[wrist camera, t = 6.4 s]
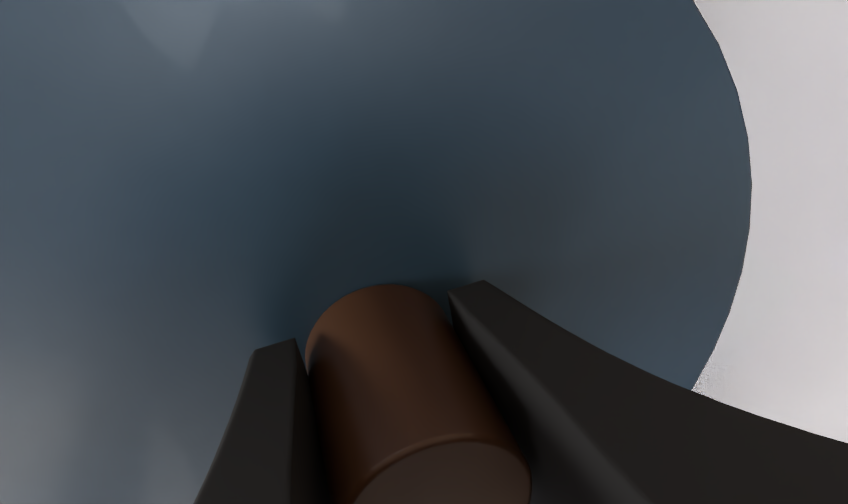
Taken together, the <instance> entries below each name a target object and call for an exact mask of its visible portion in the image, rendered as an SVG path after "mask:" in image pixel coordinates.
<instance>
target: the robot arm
mask: <svg viewBox="0 0 848 504" xmlns="http://www.w3.org/2000/svg"><path fill="white" fill-rule="evenodd" d="M447 294H448V300H449V305H450V311H451V316H452V322H453V327H454V330H455V332H456V334H457V336H458V338H459V339H460V341H461V343H462V345H463V346H464V348H465V350H466V352H467V354H468V355H469V357H470V359H471V361H472V363H473V364H474V366H475V368H476V370H477V372H478V373H479V375H480V377H481V379H482V381H483V382H484V384H485V386H486V388H487V390H488V391H489V393H490V395H491V397H492V399H493V400H494V402H495V404H496V406H497V407H498V409H499V411H500V413H501V415H502V416H503V418H504V420H505V422H506V424H507V425H508V427H509V429H510V431H511V433H512V434H513V436H514V438H515V440H516V442H517V443H518V445H519V447H520V449H521V451H522V452H523V454H524V456H525V458H526V460H527V462H528V464H529V466H530V469H531V474H532V496H531V500H530V503H529V504H848V443H844V442H841V441H837V440H834V439H830V438H827V437H823V436H820V435H817V434H813V433H810V432H807V431H804V430H801V429H798V428H795V427H791V426H788V425H785V424H782V423H779V422H776V421H773V420H770V419H767V418H764V417H761V416H758V415H754V414H752V413H749V412H746V411H743V410H740V409H738V408H735V407H732V406H729V405H726V404H724V403H721V402H718V401H716V400H713V399H711V398H708V397H706V396H704V395H701V394H699V393H696V392H694V391H691V390H689V389H686V388H684V387H681V386H679V385H676V384H674V383H671V382H669V381H667V380H664V379H662V378H660V377H658V376H655V375H653V374H651V373H649V372H646V371H644V370H642V369H640V368H638V367H636V366H634V365H632V364H630V363H628V362H626V361H624V360H622V359H620V358H618V357H616V356H614V355H611V354H609V353H607V352H605V351H604V350H602V349H600V348H598V347H596V346H594V345H592V344H591V343H589V342H587V341H585V340H583V339H582V338H580V337H578V336H576V335H575V334H573V333H571V332H569V331H567V330H566V329H564V328H562V327H560V326H559V325H557V324H555V323H554V322H552V321H550V320H548V319H547V318H545V317H543V316H542V315H540V314H539V313H537V312H535V311H534V310H532V309H530V308H529V307H527V306H526V305H524V304H522V303H521V302H519V301H518V300H516V299H514V298H513V297H511V296H510V295H508V294H506V293H505V292H503V291H502V290H500V289H498V288H497V287H495V286H494V285H492V284H490V283H489V282H487V281H485V280H481V281H477V282H474V283H471V284H468V285H464V286H461V287H458V288H454V289H451V290H448V291H447ZM193 504H331V500H330V495H329V489H328V484H327V478H326V473H325V467H324V462H323V456H322V451H321V445H320V440H319V434H318V427H317V420H316V415H315V409H314V404H313V399H312V393H311V388H310V382H309V377H308V374H307V371H306V368H305V365H304V362H303V359H302V356H301V354H300V351H299V348H298V345H297V342H296V339H295V338H291V339H288V340H285V341H282V342H278V343H275V344H272V345H268V346H265V347H262V348H259V349H255V350H254V352H253V353H252V355H251V356H250V358H249V361H248V365H247V369H246V372H245V375H244V378H243V382H242V385H241V388H240V391H239V394H238V397H237V400H236V402H235V405H234V408H233V411H232V414H231V416H230V419H229V422H228V424H227V427H226V429H225V432H224V434H223V437H222V439H221V442H220V444H219V447H218V449H217V452H216V454H215V457H214V459H213V462H212V464H211V466H210V469H209V471H208V473H207V475H206V478H205V480H204V482H203V484H202V486H201V488H200V490H199V492H198V495H197V497H196V499H195V501H194V503H193Z"/></svg>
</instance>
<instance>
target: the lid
mask: <svg viewBox="0 0 848 504" xmlns="http://www.w3.org/2000/svg"><path fill="white" fill-rule="evenodd" d="M751 191H752V180H751V168H750V156H749V144H748V136H747V131H746V127H745V123H744V118H743V114H742V110H741V105H740V101H739V96H738V92H737V89H736V87H735V84H734V82H733V79H732V76H731V74H730V71H729V69H728V66H727V64H726V61H725V59H724V56H723V54H722V51H721V49H720V46H719V44H718V42H717V40H716V39H715V37H714V35H713V34H712V32H711V30H710V29H709V27H708V25H707V23H706V22H705V20H704V18H703V17H702V15H701V13H700V12H699V10H698V8H697V7H696V5H695V3H694V1H693V0H0V504H193V503H194V501H195V499H196V497H197V495H198V492H199V490H200V488H201V486H202V484H203V482H204V480H205V478H206V475H207V473H208V471H209V469H210V466H211V464H212V462H213V459H214V457H215V454H216V452H217V449H218V447H219V444H220V442H221V439H222V437H223V434H224V432H225V429H226V427H227V424H228V422H229V419H230V416H231V414H232V411H233V408H234V405H235V402H236V400H237V397H238V394H239V391H240V388H241V385H242V382H243V378H244V375H245V372H246V369H247V365H248V361H249V358H250V356H251V355H252V353H253V352H254V350H255V349H259V348H262V347H265V346H268V345H272V344H275V343H278V342H282V341H285V340H288V339H291V338H295V339H296V342H297V345H298V348H299V351H300V354H301V356H302V359H303V362H304V365H305V368H306V371H307V374H308V377H309V382H310V388H311V393H312V399H313V404H314V409H315V415H316V420H317V427H318V434H319V440H320V445H321V451H322V456H323V462H324V467H325V473H326V478H327V484H328V489H329V495H330V500H331V504H529V503H530V500H531V496H532V474H531V469H530V466H529V464H528V462H527V460H526V458H525V456H524V454H523V452H522V451H521V449H520V447H519V445H518V443H517V442H516V440H515V438H514V436H513V434H512V433H511V431H510V429H509V427H508V425H507V424H506V422H505V420H504V418H503V416H502V415H501V413H500V411H499V409H498V407H497V406H496V404H495V402H494V400H493V399H492V397H491V395H490V393H489V391H488V390H487V388H486V386H485V384H484V382H483V381H482V379H481V377H480V375H479V373H478V372H477V370H476V368H475V366H474V364H473V363H472V361H471V359H470V357H469V355H468V354H467V352H466V350H465V348H464V346H463V345H462V343H461V341H460V339H459V338H458V336H457V334H456V332H455V330H454V327H453V322H452V316H451V311H450V305H449V300H448V294H447V291H448V290H451V289H454V288H458V287H461V286H464V285H468V284H471V283H474V282H477V281H481V280H485V281H487V282H489V283H490V284H492V285H494V286H495V287H497V288H498V289H500V290H502V291H503V292H505V293H506V294H508V295H510V296H511V297H513V298H514V299H516V300H518V301H519V302H521V303H522V304H524V305H526V306H527V307H529V308H530V309H532V310H534V311H535V312H537V313H539V314H540V315H542V316H543V317H545V318H547V319H548V320H550V321H552V322H554V323H555V324H557V325H559V326H560V327H562V328H564V329H566V330H567V331H569V332H571V333H573V334H575V335H576V336H578V337H580V338H582V339H583V340H585V341H587V342H589V343H591V344H592V345H594V346H596V347H598V348H600V349H602V350H604V351H605V352H607V353H609V354H611V355H614V356H616V357H618V358H620V359H622V360H624V361H626V362H628V363H630V364H632V365H634V366H636V367H638V368H640V369H642V370H644V371H646V372H649V373H651V374H653V375H655V376H658V377H660V378H662V379H664V380H667V381H669V382H671V383H674V384H676V385H679V386H681V387H684V388H686V389H689V390H692V388H693V387H694V385H695V383H696V381H697V380H698V378H699V376H700V374H701V372H702V370H703V369H704V367H705V365H706V363H707V361H708V360H709V358H710V356H711V354H712V352H713V350H714V348H715V346H716V343H717V341H718V339H719V336H720V334H721V331H722V329H723V327H724V324H725V322H726V320H727V317H728V315H729V313H730V309H731V306H732V303H733V300H734V296H735V293H736V290H737V286H738V283H739V280H740V276H741V273H742V268H743V263H744V257H745V252H746V246H747V240H748V235H749V229H750V210H751Z"/></svg>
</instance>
